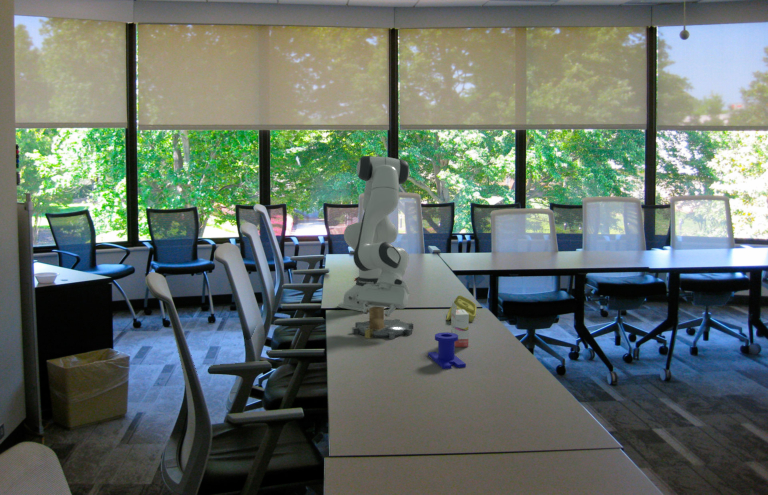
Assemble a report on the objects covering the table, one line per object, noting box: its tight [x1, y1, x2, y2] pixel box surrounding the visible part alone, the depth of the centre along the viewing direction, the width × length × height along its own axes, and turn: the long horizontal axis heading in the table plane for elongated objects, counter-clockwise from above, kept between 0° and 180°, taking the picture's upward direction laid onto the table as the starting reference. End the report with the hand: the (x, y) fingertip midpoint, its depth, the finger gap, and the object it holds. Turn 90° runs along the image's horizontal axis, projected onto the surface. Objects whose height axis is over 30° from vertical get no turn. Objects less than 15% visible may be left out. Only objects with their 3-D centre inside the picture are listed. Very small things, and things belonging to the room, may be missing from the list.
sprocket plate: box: [351, 318, 414, 340], centre depth 239 cm, size 24×24×3 cm
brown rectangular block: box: [368, 306, 385, 329], centre depth 234 cm, size 4×4×8 cm
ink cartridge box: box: [450, 301, 470, 348], centre depth 220 cm, size 9×5×15 cm, turn 5°
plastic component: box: [445, 294, 478, 323], centre depth 262 cm, size 20×7×10 cm
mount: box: [427, 332, 467, 370], centre depth 200 cm, size 15×8×9 cm, turn 14°
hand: (375, 314), depth 233 cm, fingers open, 8 cm apart
